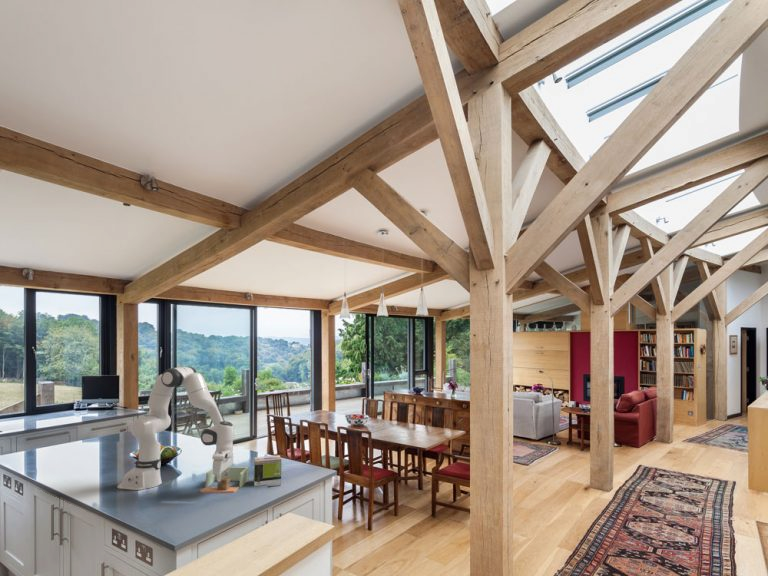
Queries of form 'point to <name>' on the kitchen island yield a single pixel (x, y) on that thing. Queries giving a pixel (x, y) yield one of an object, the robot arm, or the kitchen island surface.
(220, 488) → the walnut block
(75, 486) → the kitchen island surface
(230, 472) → the box
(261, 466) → the tea box
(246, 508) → the kitchen island surface
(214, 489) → the board
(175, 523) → the kitchen island surface
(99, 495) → the kitchen island surface
